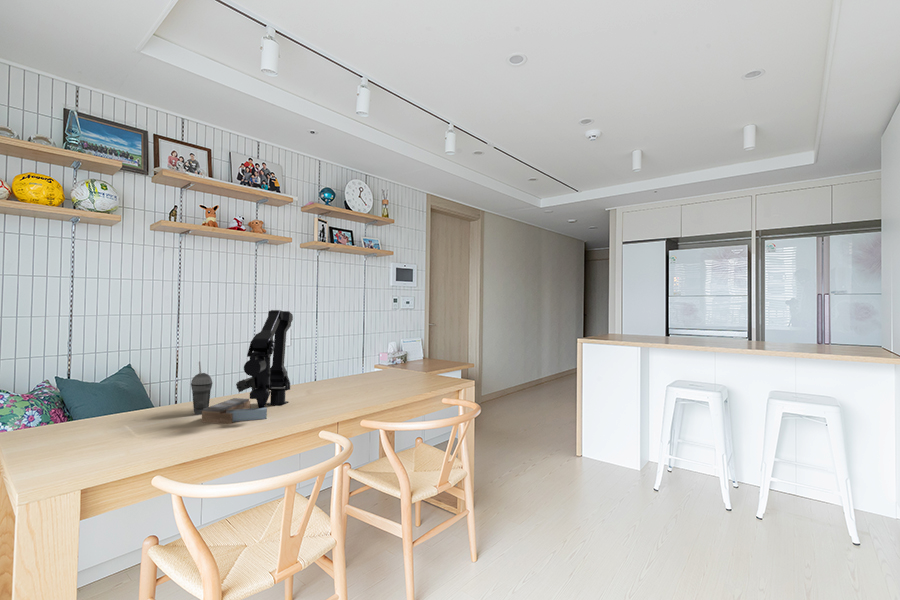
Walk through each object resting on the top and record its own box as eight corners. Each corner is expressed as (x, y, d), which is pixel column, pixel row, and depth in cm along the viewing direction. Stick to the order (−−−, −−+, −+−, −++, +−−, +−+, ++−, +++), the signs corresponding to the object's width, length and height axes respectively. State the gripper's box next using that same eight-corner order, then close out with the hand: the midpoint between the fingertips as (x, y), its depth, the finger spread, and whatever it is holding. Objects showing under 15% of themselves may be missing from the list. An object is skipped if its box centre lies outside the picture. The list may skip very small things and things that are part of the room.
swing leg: (266, 416, 160) (266, 407, 160) (266, 418, 157) (266, 409, 157) (226, 419, 154) (226, 410, 154) (225, 422, 152) (225, 412, 152)
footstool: (233, 409, 170) (233, 397, 170) (259, 411, 168) (259, 399, 168) (201, 422, 152) (201, 408, 152) (230, 424, 150) (230, 410, 150)
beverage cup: (201, 417, 158) (203, 363, 158) (185, 415, 160) (186, 362, 160) (216, 412, 166) (217, 360, 166) (200, 410, 167) (201, 359, 167)
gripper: (241, 366, 166) (240, 406, 166) (234, 376, 148) (233, 420, 148) (272, 366, 169) (271, 405, 170) (268, 375, 152) (267, 418, 152)
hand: (261, 412), depth 160 cm, fingers closed
